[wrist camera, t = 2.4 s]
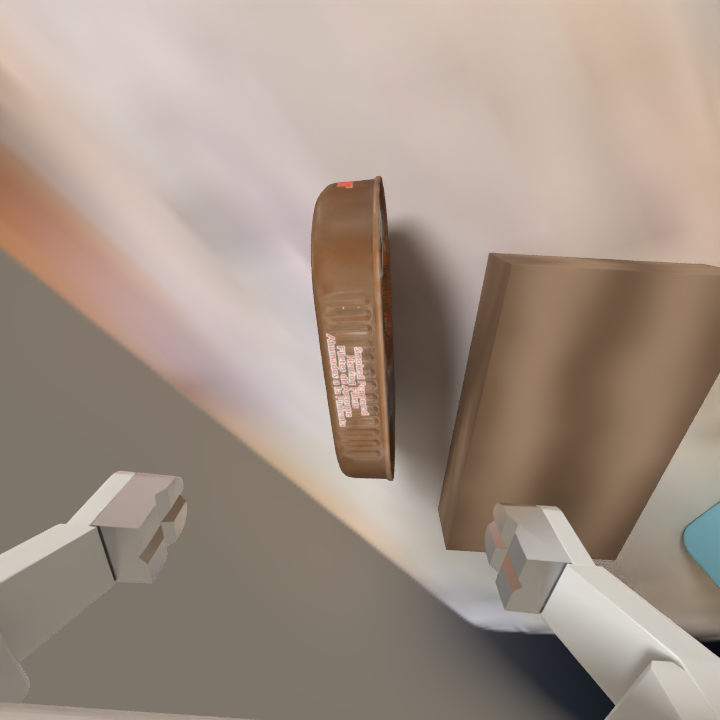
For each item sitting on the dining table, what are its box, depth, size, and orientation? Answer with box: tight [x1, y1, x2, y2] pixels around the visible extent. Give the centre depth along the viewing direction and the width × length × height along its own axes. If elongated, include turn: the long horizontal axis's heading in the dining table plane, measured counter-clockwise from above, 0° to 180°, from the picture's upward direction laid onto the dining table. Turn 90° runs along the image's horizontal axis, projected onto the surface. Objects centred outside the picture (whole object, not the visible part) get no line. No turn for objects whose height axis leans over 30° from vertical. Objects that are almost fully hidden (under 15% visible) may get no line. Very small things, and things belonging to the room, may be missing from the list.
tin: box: [311, 176, 395, 481], centre depth 18 cm, size 15×3×8 cm, turn 4°
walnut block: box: [438, 253, 720, 560], centre depth 22 cm, size 12×20×4 cm, turn 177°
